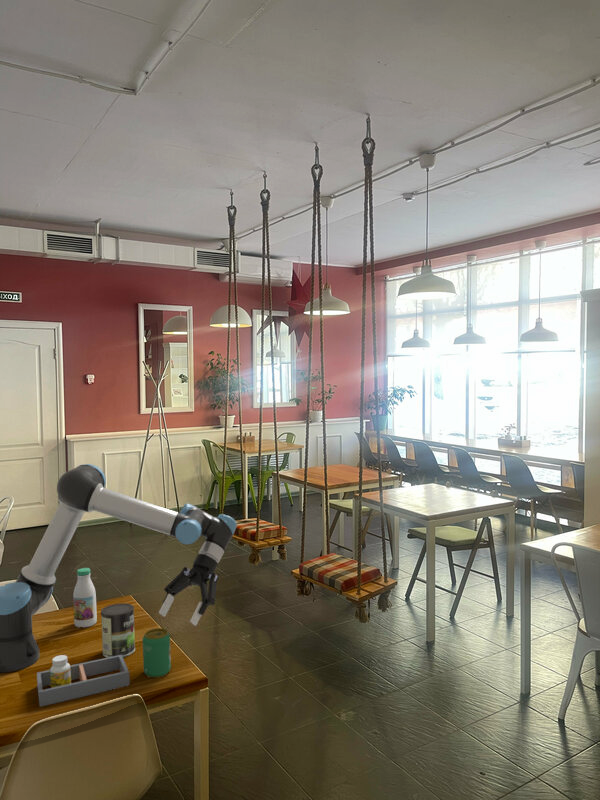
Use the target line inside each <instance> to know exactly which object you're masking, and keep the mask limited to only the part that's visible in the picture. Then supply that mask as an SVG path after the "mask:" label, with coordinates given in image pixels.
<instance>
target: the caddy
mask: <svg viewBox="0 0 600 800" xmlns="http://www.w3.org/2000/svg"><path fill="white" fill-rule="evenodd" d="M70 669H71V681H74V680H78V679H79V681H76V682H71V684H67V685H62V686H58V687H54V688H51V687H50V688H46V689H43V687H47V686H51V676H50V669H48V670H43V671H38V672H36V683H37V684H36V685H37V686H36V687H37V695H38V703H39V704H38V705H39V707H40V708H41V707H44V706H49V705H53V704H58V703H62V702H65V701H70V700H74V699H75V700H76V699H79V698H83V697H88V696H91V695H95V694H100V693H104V692H108V690H109V691H113V690H117V689H120V688H119V687H121V688H124V686H126V687H128V685H131V684H130V671H129V670H130V669H128V666H127V664H126V661H125V660H124V657H123V656H122V655H117V656H113V657H108V658H106V657H105V658H100V659H95V660H90V661H85V662H81V663H75V664H72V665H70ZM114 670H115V671H119V672H116V673H113V674H112V673H111V674H106V675H103V676H98V677H94V678H91V679H88V678H87V677H92V676H97V675H100V674H101V675H102V674H105V673H110V672H113V671H114ZM116 688H117V689H116ZM112 689H113V690H112Z"/></svg>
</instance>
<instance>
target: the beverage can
mask: <svg viewBox="0 0 600 800" xmlns="http://www.w3.org/2000/svg"><path fill="white" fill-rule="evenodd" d="M142 656H143V663H142V664H143V672H144V674H145V676H146V675H147V676H149V677H148V678H150V677H159V678H162V677H161V676H163V677H165V676H167V675H168V674H169V673H170V670H171V668H172V662H171V636H170V633H169V631H168V630H167V629H165V628H162V627H161V628H160V627H158V628H152V629H149V630H147V631H146V632H144V635H143V637H142ZM168 672H169V673H168ZM167 673H168V674H167ZM166 674H167V675H166ZM164 675H165V676H164ZM147 676H146V677H147Z"/></svg>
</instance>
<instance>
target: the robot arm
mask: <svg viewBox="0 0 600 800" xmlns="http://www.w3.org/2000/svg"><path fill="white" fill-rule="evenodd" d="M106 482H107V481H106V476H105V473H104V471H103V470H102V469H101V468H100V467H98V466H96V465H95V464H90V463H86V464H79V465H78V466H76V467H74V468H72V469H70V470H67V471H66V472H65V473H63V474H62V475H61V476H60V477H59V479H58V481H57V483H56V494H57V500H58V502H59V503H58V506H57V507H56V510H55V512H54V514H53V517H52V519H51V520H50V523H49V524H48V526H47V528H46V530H45V532H44V534H43V537H42V538H41V540H40V543H39V544H38V546H37V548H36V550H35V553H34V554H33V556H32V558H31V561H30V563H29V564H27V565H26V566H23V567H22V568H21V570H20V572H19V574H18V576H17V579H16V580H15V581H14V582H9V583H5V584H4V585H1V586H0V673H10V672H16V671H20V670H22V669H25V668H27V667H29V666H32V665H34V664H35V663H36V662H37V661H38V660H39V659H40V648H39V645H38V644H37V641H36V638H35V636H34V634H33V633H34V632H33V616H34V615H35V613H37V612H38V611H39V610H40V609H41V608H42V607H43V606H44V605H46V604H47V603H48V601H50V599H51V596H52V594H53V590H54V585H55V583H56V581H57V578H56V576H55V573H56V571H57V569H58V567H59V564H60V563H61V560H62V558H63V557H64V554H65V552H66V551H67V548H68V546H69V544H70V542H71V540H72V539H73V536H74V534H75V532H76V530H77V528H78V526H79V524H80V522H81V520H82V518H83V516H84V514H85V513H92V512H98V513H101V514H103V515H106V516H110V517H113V518H116V519H119V520H122V521H125V522H128V523H131V524H134V525H137V526H140V527H143V528H146V529H149V530H153V531H156V532H159V533H162V534H165V535H168V536H171V537H175V538H176V539H177V540H178V542H179V543H181V544H183V545H191V544H193V543H195V542H197V540H199V538H200V536H201V537H203V538H205V540H204V542H203V544H202V545H201V548H200V549H199V551H198V554H196V557H195V559H194V561H193V564H192V568H191V569H189V568H188V567H186V566H184V567H183V568H182V570H181V572H180V573H179V574H177V576H176V577H174V578H173V579H172V580H171V581H170V582H169V583H168V584H167V585H166V586H165V587H164V589H163V591H164V592H166V595H165V597H164V599H163V601H162V605H161V607H160V608H159V611H158V613H159V615H161V616H162V617H163V618H165V617H166V615H167V614H168V612H169V610H170V609H171V606H172V605H173V602H174V600H175V596H176V595H178V594H179V593H181V592H182V591H183V590H185V589H186V588H187V587H189V586H198V587H200V594H201V601H199V602H198V604H197V606H196V607H195V608H196V609H195V610H194V612H193V614H192V616H191V619H190V620H189V623H191V624H192V625H193V626H195V627H196V626H197V625H198V623H199V621H200V619H201V617H202V616H203V615H205V612H206V610H207V608H208V606H214V605H216V595H217V592H216V591H217V584H218V581H219V577H218V575H217V574H216V573H215V572H216V569H217V568H218V564H219V563H220V561H221V559H222V557H223V555H224V554H225V551H226V550H227V548H228V545H229V543H230V541H231V540H232V538H233V537H234V533H235V531H236V529H237V526H238V525H237V524H238V523H237V522H236V520H235V518H233V517H231V516H230V515H226V514H223V513H222V514H221V513H220V514H218V516H216V517H215V516H213V515H211V514H210V513H208V512H206V511H204V510H202V509H200V508H199V507H197V506H196V505H192V504H190V503H185V504H183V506H182V509H181V510H180V512H178V511H175V510H173V509H169V508H165V507H162V506H159V505H156V504H154V503H151V502H148V501H145V500H142V499H138V498H135V497H133V496H130V495H126V494H124V493H120V492H119V491H118V492H117V491H115V490H111V489H108V488H106ZM208 581H209V583H208Z"/></svg>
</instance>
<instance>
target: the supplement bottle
mask: <svg viewBox="0 0 600 800" xmlns="http://www.w3.org/2000/svg"><path fill="white" fill-rule="evenodd" d="M51 660H52V666H51V667H50V669H49V670H50V676H51V685H50V688H54V687H58V686H62V685H67V684H71V683H72V680H71V669H70V666H71V665H70V663H69V662H68V661H69V660H68V656H67V655H66V654H63V655H62V654H60V655H56V656H54V657H53V658H52V659H51Z"/></svg>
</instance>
